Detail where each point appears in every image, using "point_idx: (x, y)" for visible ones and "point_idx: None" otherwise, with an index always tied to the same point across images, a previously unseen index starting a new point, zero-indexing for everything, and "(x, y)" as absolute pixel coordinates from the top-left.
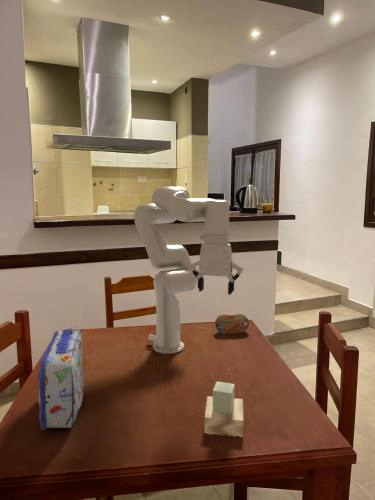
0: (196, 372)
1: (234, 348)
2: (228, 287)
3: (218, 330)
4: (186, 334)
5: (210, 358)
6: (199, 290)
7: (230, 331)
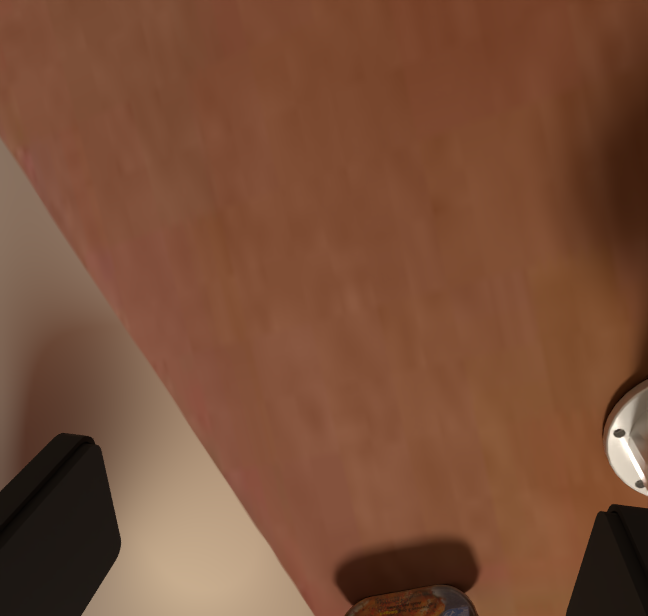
0: (495, 229)
1: (367, 474)
2: (10, 531)
3: (462, 597)
4: None
5: (453, 372)
6: (641, 516)
7: (410, 599)
